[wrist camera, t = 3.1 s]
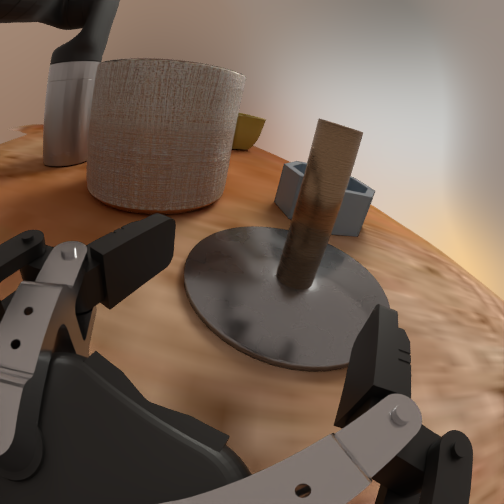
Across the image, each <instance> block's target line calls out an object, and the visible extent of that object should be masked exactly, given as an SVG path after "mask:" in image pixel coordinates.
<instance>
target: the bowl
mask: <svg viewBox="0 0 504 504" xmlns="http://www.w3.org/2000/svg"><path fill="white" fill-rule="evenodd" d="M306 166H307V163H305V162H299V161H295V162H291V163H286V164H284V166H283V170H282V174H281V178H280V182H279V186H278V189H277V193H276V197H275V201H274V202H275V203H276V204H277V205H278V207H279V208H280V209H281V210H282V211H283V212H284V213H285V215H286V216H287V217H288V218H289V219H292V217H293V213H294V209H295V206H296V202H297V199H298V195H299V192H300V188H301V184H302V181H303V177H304V173H305V169H306ZM374 193H375V190H373V189H371V188H370V187H368V186H367V185H365V184H364V183H362V182H360V181H359V180H357V179H356V178H354V177H351V176H350V179H349V182H348V185H347V188H346V191H345V194H344V198H343V201H342V204H341V207H340V210H339V212H338V215H337V218H336V221H335V224H334V227H333V230H332V233H331V234H332V235H345V236H358V235H359V232H360V230H361V227H362V225H363V223H364V220H365V217H366V215H367V212H368V209H369V207H370V204H371V201H372V199H373V196H374Z"/></svg>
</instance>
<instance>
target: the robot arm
mask: <svg viewBox="0 0 504 504" xmlns="http://www.w3.org/2000/svg"><path fill="white" fill-rule="evenodd" d="M119 1H120V0H0V23H11V22H12V23H13V22H40V23H44V24H47V25H50V26H53V27H56V28H59V29H64V30H72V29H79V28H83V29H82V30H81V32H80V33H79V34H78V35H77V36H76V37H74V38H73V39H72V40H70V41H69V42H67V43H65V44H63V45H62V46H60V47H58V48H57V49H55V50H54V52H53V54H52V58H51V63H50V69H49V76H48V84H47V92H46V102H45V114H44V135H43V163H44V164H45V165H48V166H67V165H73V164H78V163H82V162H85V161H87V150H88V136H89V125H90V115H91V106H92V99H93V91H94V85H95V78H96V72H97V67H98V64H100V62H101V60H102V55H103V52H104V50H105V47H106V44H107V40H108V36H109V33H110V29H111V26H112V23H113V20H114V17H115V15H116V11H117V8H118V5H119ZM175 227H176V224H175V221H174V219H172V218H169V217H167V216H164V215H162V214H159V213H155V214H153V215H151V216H149V217H147V218H145V219H143V220H140V221H136V222H131V223H129V224H127V225H125V226H123V227H121V229H120V228H119V229H117V230H115V231H114V232H113V233H112V232H111V233H109V234H107V235H105V236H103V237H101V238H99V239H97V240H95V241H93V242H91V243H90V244H88V245H84V244H83V243H81V242H77V241H68V242H64V243H61V244H59V245H57V246H56V247H51V246H48V245H45V239H44V234H43V232H41V231H39V230H28V231H25V232H22V233H20V234H19V235H17V236H15V237H13V238H11V239H10V240H8V241H6V242H4V243H2V244H1V245H0V282H1V281H3V280H4V279H5V278H7V277H8V276H10V275H11V274H13V273H14V272H16V271H18V270H19V269H20V272H21V275H22V279H23V281H22V282H21V283H20V285H19V286H18V288H17V290H16V291H14V292H13V293H12V294H10V295H9V296H8V297H6V298H5V299H3V300H2V301H1V300H0V504H346V503H347V502H349V501H350V500H351V499H353V498H354V497H355V496H356V495H358V494H359V493H360V492H362V491H363V490H364V489H365V488H366V487H367V486H368V485H369V484H370V483H371V482H372V479H373V480H375V481H376V482H378V483H380V484H381V485H380V488H379V491H378V495H377V498H376V501H375V504H469V497H470V489H471V479H472V463H473V449H472V445H471V443H470V440H469V439H468V437H467V436H466V435H465V434H464V433H462V432H460V431H457V430H452V431H449V432H447V433H446V434H444V435H443V436H442V437H440V436H439V435H437V434H436V433H434V432H432V431H431V430H429V429H428V428H426V427H425V426H423V425H422V416H421V412H420V410H419V408H418V406H417V405H416V403H415V402H414V401H413V400H412V399H411V365H410V363H411V356H410V341H409V339H408V337H407V334H406V332H405V330H403V329H401V328H398V313H397V311H395V310H393V309H390V308H388V307H385V306H383V305H381V304H377V305H376V306H375V308H374V309H373V311H372V313H371V314H370V316H369V318H368V319H367V321H366V323H365V324H364V326H363V328H362V329H361V331H360V332H359V334H358V336H357V338H356V340H355V342H354V344H353V347H352V350H351V355H350V360H349V365H348V370H347V374H346V379H345V383H344V388H343V392H342V396H341V400H340V404H339V408H338V411H337V415H336V419H335V422H334V426H337V427H340V428H343V429H341V430H340V431H338V432H337V433H335V434H334V433H332V434H330V435H328V436H326V437H324V438H323V439H321V440H319V441H317V442H316V443H314V444H312V445H311V446H309V447H307V448H305V449H304V450H302V451H300V452H298V453H296V454H294V455H293V456H291V457H289V458H287V459H285V460H283V461H281V462H279V463H277V464H275V465H273V466H271V467H268V468H266V469H264V470H262V471H260V472H258V473H255V474H253V475H252V474H251V473H250V471H249V469H248V468H247V466H246V465H245V464H244V462H243V461H242V460H241V458H240V457H239V456H238V455H237V454H236V453H235V452H234V451H233V450H231V449H230V448H229V447H228V446H227V445H226V443H227V441H228V439H229V436H228V435H226V434H224V433H222V432H220V431H218V430H216V429H214V428H212V427H210V426H209V425H207V424H205V423H203V422H201V421H199V420H197V419H196V418H194V417H192V416H189V415H186V414H183V413H180V412H177V411H174V410H171V409H168V408H165V407H162V406H159V405H157V404H154V403H151V402H149V401H148V400H146V399H145V398H144V397H143V395H142V394H141V393H140V392H139V391H138V390H137V389H136V387H135V386H134V385H133V384H132V383H131V381H130V380H129V379H128V378H127V377H126V375H125V374H124V373H123V372H122V371H121V370H120V369H118V368H117V367H116V366H114V365H113V364H112V363H110V362H109V361H108V360H107V359H105V358H104V357H103V356H102V355H100V354H99V353H98V352H97V351H95V352H94V353H93V354H92V355H90V356H89V345H90V340H91V335H92V330H93V325H94V321H95V316H96V311H97V309H96V305H97V304H98V303H101V304H103V305H104V306H106V307H107V308H108V309H112V308H113V307H114V306H115V305H117V304H118V303H119V302H121V301H122V300H123V299H125V298H126V297H127V296H129V295H130V294H131V293H133V292H134V291H135V290H137V289H138V288H139V287H141V286H142V285H143V284H145V283H146V282H147V281H149V280H150V279H151V278H153V277H154V276H155V275H157V274H158V273H160V272H161V271H162V270H164V269H165V268H166V267H167V266H168V265H169V264H170V262H171V260H172V257H173V252H174V239H175Z"/></svg>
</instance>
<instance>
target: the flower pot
mask: <svg viewBox="0 0 504 504" xmlns="http://www.w3.org/2000/svg"><path fill="white" fill-rule="evenodd" d="M265 121H266V120H265V119H263V118H258V117H255V116H251V115H247V114H242V113H238V117H237V122H236V128H235V133H234V138H233V144H232V149H244V150H248V149H250V148H251V147H252V146H253V144H255V142H256V141H257V140H258V138H259V136H260V133H261V130H262V128H263V126H264V123H265Z"/></svg>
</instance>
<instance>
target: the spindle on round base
mask: <svg viewBox="0 0 504 504" xmlns="http://www.w3.org/2000/svg"><path fill="white" fill-rule="evenodd" d="M362 135H363V132H360V131H357V130H354V129H351V128H349V127H345V126H342V125H339V124H336V123H333V122H329V121H326V120H322V119H319V120H318V124H317V128H316V132H315V135H314V139H313V143H312V147H311V151H310V154H309V158H308V162H307V166H306V169H305V173H304V177H303V181H302V184H301V188H300V192H299V195H298V199H297V202H296V206H295V209H294V213H293V217H292V220H291V224H290V227H289V230H284V229H278V228H270V227H239V228H232V229H227V230H223V231H220V232H217V233H214V234H212V235H210V236H208V237H206V238H205V239H203V240H201V241H200V242H199V243H198V244H197V245H196V246H195V247H194V248H193V249H192V251H191V252H190V253H189V255H188V258H187V260H186V264H185V269H184V286H185V290H186V294H187V297H188V299H189V302H190V304H191V306H192V308H193V309H194V311H195V312H196V314H197V315H198V317H199V318H200V319H201V320H202V321H203V323H204V324H205V325H206V326H207V327H208V328H209V329H210V330H211V331H212V332H213V333H214V334H216V335H217V336H218V337H219V338H220V339H222V340H223V341H224V342H226V343H227V344H229V345H230V346H232V347H233V348H235V349H236V350H238V351H240V352H242V353H244V354H246V355H248V356H250V357H252V358H254V359H257V360H259V361H262V362H265V363H268V364H270V365H274V366H278V367H282V368H286V369H291V370H299V371H308V372H316V371H331V370H337V369H342V368H345V367H348V365H349V360H350V355H351V350H352V347H353V344H354V342H355V340H356V338H357V336H358V334H359V332H360V331H361V329H362V328H363V326H364V324H365V323H366V321H367V319H368V318H369V316H370V314H371V313H372V311H373V309H374V308H375V306H376V305H377V304H381V305H383V306H385V307H388V308H390V306H389V302H388V299H387V297H386V295H385V293H384V291H383V289H382V287H381V286H380V284H379V283H378V282H377V280H376V279H375V278H374V277H373V275H372V274H371V273H370V272H369V271H368V270H367V269H366V268H364V267H363V266H362V265H361V264H360V263H359V262H357V261H356V260H355V259H353V258H352V257H350V256H349V255H347V254H346V253H344V252H343V251H341V250H339V249H337V248H335V247H334V246H332V245H329V244H328V241H329V238H330V235H331V233H332V230H333V227H334V224H335V221H336V218H337V215H338V212H339V210H340V207H341V204H342V201H343V198H344V194H345V191H346V188H347V185H348V182H349V179H350V176H351V172H352V169H353V166H354V162H355V159H356V156H357V152H358V149H359V146H360V142H361V139H362Z"/></svg>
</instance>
